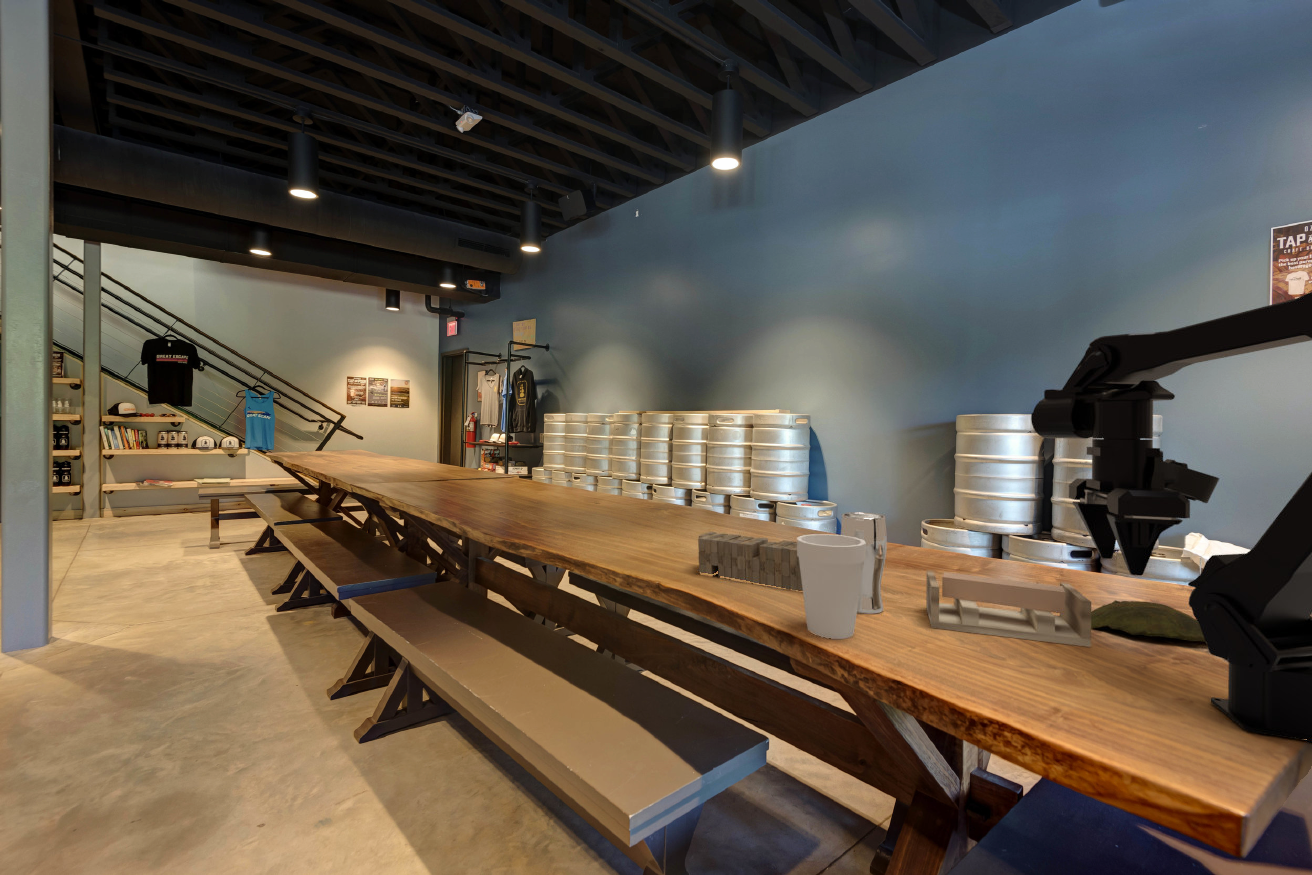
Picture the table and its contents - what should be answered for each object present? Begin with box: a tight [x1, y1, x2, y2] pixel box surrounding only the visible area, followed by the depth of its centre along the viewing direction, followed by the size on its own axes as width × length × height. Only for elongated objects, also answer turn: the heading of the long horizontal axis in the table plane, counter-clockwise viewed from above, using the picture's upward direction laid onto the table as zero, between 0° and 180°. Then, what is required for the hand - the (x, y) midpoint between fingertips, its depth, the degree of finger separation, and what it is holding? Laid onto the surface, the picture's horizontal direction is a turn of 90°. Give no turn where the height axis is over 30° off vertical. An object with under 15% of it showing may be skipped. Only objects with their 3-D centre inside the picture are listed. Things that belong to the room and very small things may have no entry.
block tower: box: [697, 531, 803, 591], centre depth 106 cm, size 8×8×29 cm
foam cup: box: [796, 533, 866, 640], centre depth 79 cm, size 10×9×13 cm
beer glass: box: [840, 512, 888, 615], centre depth 90 cm, size 7×7×15 cm
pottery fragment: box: [1091, 599, 1206, 643], centre depth 80 cm, size 13×14×4 cm
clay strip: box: [941, 571, 1065, 614], centre depth 82 cm, size 15×4×3 cm, turn 58°
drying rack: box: [925, 570, 1092, 648], centre depth 82 cm, size 10×19×6 cm, turn 68°
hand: (1120, 566), depth 68 cm, fingers open, 9 cm apart
